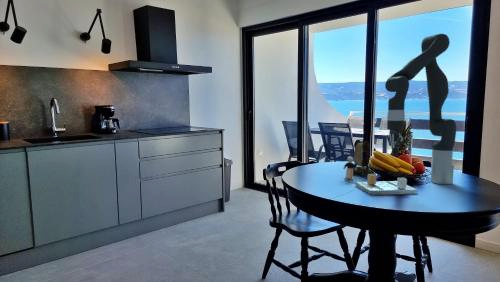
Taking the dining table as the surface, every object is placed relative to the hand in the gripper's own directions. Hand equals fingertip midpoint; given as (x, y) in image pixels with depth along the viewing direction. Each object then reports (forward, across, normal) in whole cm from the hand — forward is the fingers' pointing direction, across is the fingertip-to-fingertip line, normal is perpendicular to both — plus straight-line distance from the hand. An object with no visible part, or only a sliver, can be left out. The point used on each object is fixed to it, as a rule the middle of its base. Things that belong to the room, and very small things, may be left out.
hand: (394, 155), depth 159 cm
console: (+16, -2, +5) cm, 17 cm away
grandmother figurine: (+16, +22, +13) cm, 30 cm away
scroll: (+17, +35, +1) cm, 39 cm away
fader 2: (+14, -8, 0) cm, 16 cm away
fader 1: (+14, +2, +10) cm, 17 cm away
